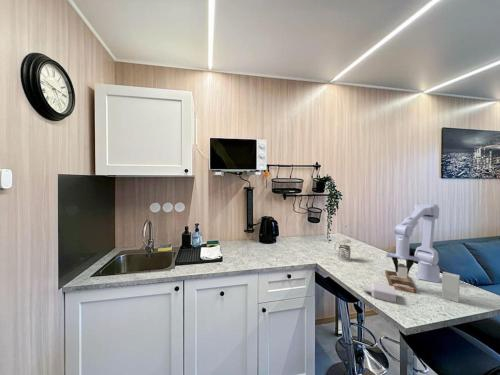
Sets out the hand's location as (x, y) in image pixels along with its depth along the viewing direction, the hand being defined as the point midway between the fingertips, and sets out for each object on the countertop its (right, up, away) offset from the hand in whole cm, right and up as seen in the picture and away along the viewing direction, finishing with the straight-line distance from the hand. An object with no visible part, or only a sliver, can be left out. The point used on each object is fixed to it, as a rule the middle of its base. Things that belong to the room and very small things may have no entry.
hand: (401, 272), depth 113 cm
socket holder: (+3, -8, +6) cm, 10 cm away
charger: (-18, -8, -8) cm, 22 cm away
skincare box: (+16, -9, -11) cm, 21 cm away
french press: (-14, -7, +40) cm, 43 cm away
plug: (0, -2, 0) cm, 2 cm away
